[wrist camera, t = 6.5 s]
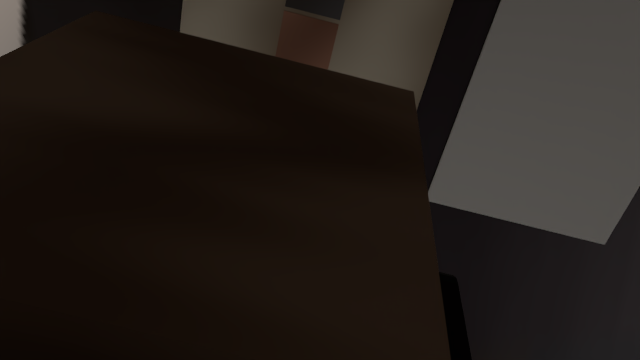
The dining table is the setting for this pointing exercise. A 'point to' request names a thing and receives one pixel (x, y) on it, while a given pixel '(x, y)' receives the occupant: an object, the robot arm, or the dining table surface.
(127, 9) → the dining table surface
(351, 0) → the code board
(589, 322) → the dining table surface
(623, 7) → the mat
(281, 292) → the walnut block
